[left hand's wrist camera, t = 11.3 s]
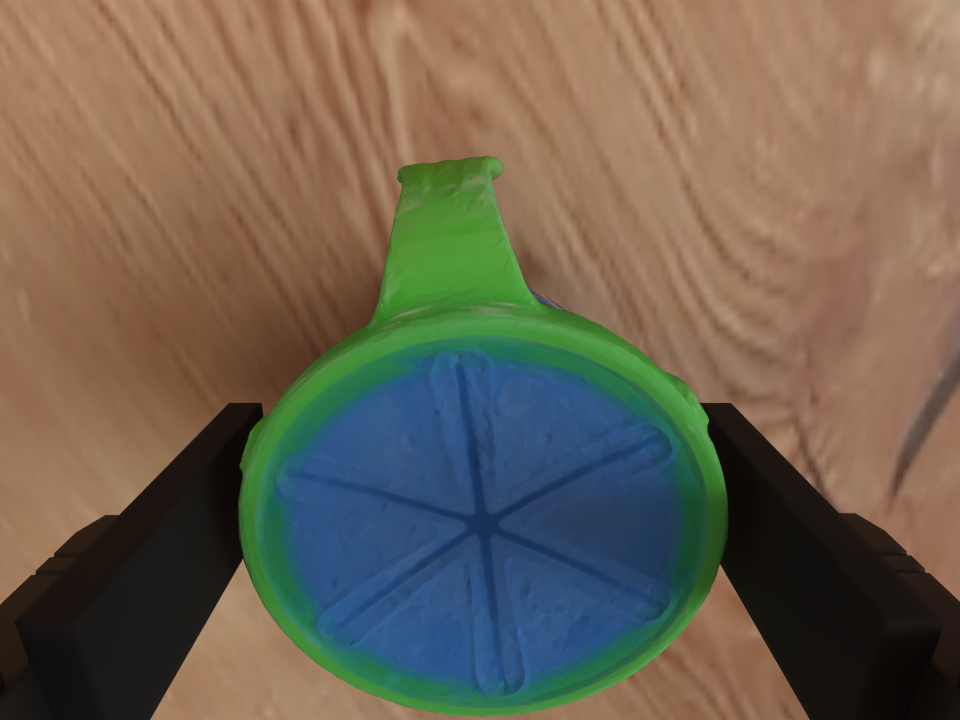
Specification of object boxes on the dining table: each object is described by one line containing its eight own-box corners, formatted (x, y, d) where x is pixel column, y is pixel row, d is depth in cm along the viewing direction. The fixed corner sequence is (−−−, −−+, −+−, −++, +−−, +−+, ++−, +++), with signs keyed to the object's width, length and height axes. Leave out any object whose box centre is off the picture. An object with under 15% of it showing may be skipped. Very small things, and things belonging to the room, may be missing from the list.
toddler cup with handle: (605, 540, 21) (684, 795, 13) (359, 540, 21) (280, 793, 13) (641, 153, 16) (806, 159, 8) (324, 153, 16) (161, 160, 8)
